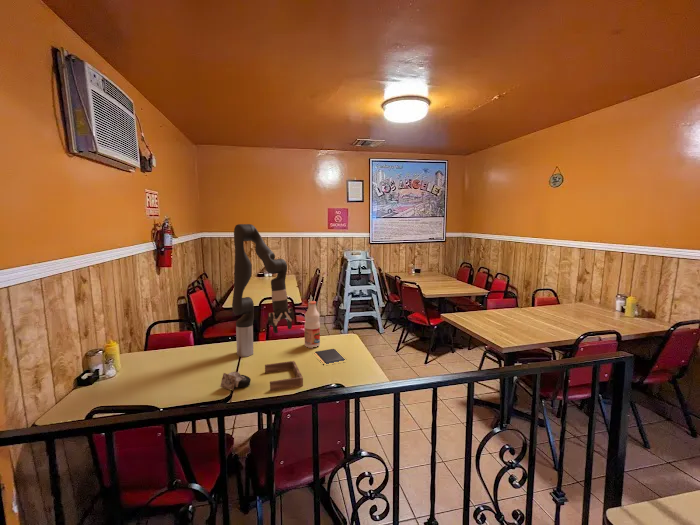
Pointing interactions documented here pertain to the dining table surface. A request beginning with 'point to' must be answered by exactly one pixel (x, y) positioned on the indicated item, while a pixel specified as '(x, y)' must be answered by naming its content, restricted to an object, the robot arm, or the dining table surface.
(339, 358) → the wallet
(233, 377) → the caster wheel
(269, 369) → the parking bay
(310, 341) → the fruit juice
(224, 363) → the dining table surface
